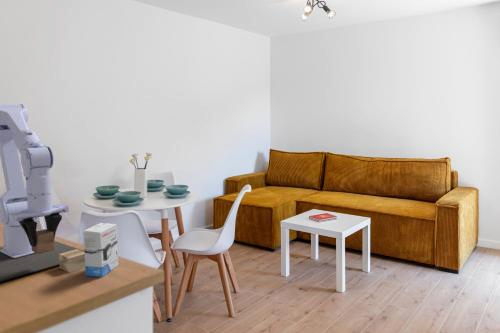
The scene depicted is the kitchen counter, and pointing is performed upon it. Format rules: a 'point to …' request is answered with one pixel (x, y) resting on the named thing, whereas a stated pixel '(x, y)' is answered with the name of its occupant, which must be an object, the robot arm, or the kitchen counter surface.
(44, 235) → the walnut block
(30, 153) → the robot arm
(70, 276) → the kitchen counter surface
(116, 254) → the ink box
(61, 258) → the base block
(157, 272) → the kitchen counter surface
